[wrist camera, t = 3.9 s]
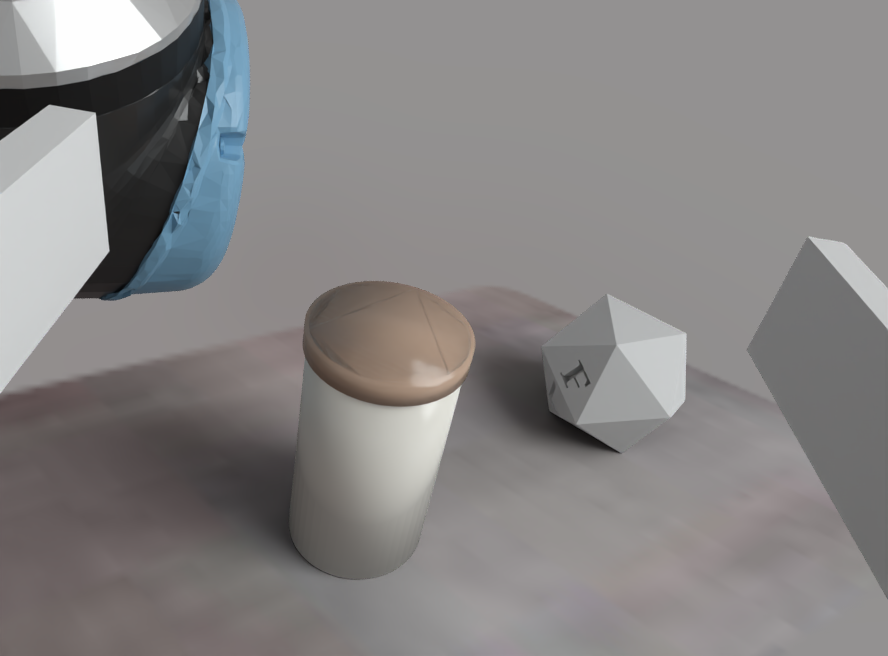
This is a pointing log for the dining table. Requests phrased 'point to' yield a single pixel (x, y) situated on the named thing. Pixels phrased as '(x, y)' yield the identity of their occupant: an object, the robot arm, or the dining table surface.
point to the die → (615, 372)
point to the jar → (373, 423)
